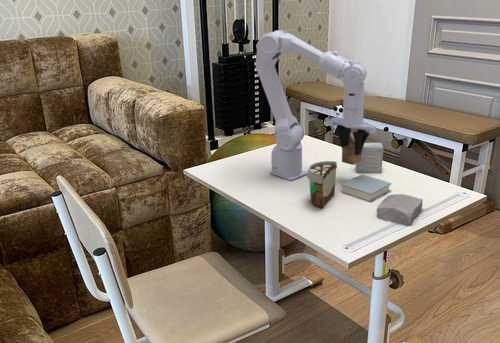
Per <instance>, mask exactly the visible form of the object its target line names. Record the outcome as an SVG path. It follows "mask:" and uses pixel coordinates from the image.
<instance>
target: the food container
mask: <svg viewBox="0 0 500 343" xmlns="http://www.w3.org/2000/svg"><path fill="white" fill-rule="evenodd" d="M337 163H338V162H337V161H334V160H333V161H332V160H325V161H319V162H315V163H313V164H310V166H309V167H308V169H307V171H306V172H307V174H306V177H307V179H308V180H309V189H310V190H309V191H310V203H311V205H312V206H313V207H315V208H318V209H322V210H324V209H325V208H326V206H327V205H328V204H329V203H330V202H331V201H332V199H333V198H334V197H335V193H336V179H337V178H336V176H337V168H338V164H337Z"/></svg>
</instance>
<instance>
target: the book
mask: <svg viewBox="0 0 500 343" xmlns="http://www.w3.org/2000/svg"><path fill="white" fill-rule="evenodd" d="M391 185H392V182H389V181H385V180H383V179H382V180H381V179H379V178H376V177H373V176H369V175H366V174H363V173H362V174H360V175H358V176H356V177H354V178H352V179H349V180H348V181H345V182H343V183H341V186H342V190H341V193H343V194H346V195H349V196H352V197H355V198H357V199H361V200H363V201H367V202H369V203H371V202H373V201H375V200H378V199H379V198H381V197H383V196H385V195H387V194H388V193H391V192H392V190H391V189H390V186H391Z"/></svg>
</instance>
